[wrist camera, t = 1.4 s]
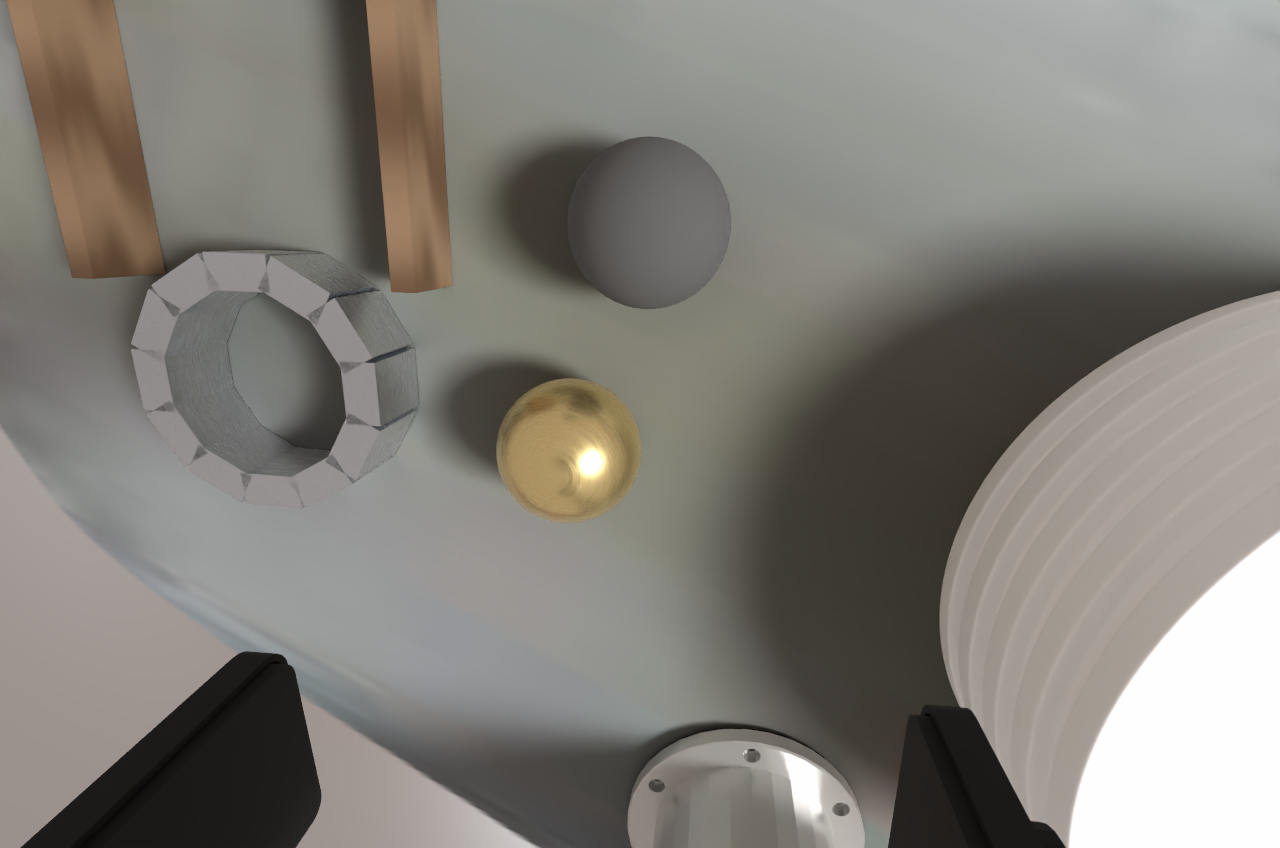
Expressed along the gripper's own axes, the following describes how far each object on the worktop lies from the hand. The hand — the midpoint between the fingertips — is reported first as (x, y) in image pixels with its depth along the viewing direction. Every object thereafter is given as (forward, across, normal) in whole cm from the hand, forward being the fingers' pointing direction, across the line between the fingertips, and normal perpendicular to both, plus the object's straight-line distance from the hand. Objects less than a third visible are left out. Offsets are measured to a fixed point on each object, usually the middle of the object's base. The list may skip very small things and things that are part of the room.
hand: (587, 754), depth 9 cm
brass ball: (+16, +4, +1) cm, 17 cm away
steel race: (+20, +18, -1) cm, 26 cm away
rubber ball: (+17, +1, -8) cm, 18 cm away
